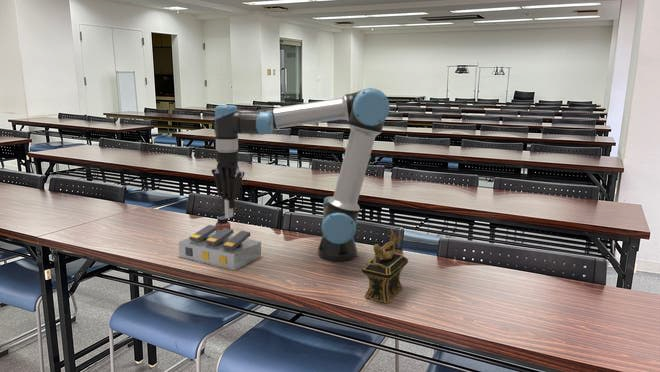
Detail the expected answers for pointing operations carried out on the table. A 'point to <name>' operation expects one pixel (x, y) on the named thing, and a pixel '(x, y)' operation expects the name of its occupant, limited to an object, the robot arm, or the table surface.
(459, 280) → the table surface
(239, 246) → the console
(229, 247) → the switch
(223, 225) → the supplement bottle
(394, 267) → the decorative box
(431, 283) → the table surface
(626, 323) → the table surface
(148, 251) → the table surface
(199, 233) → the switch
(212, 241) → the switch
